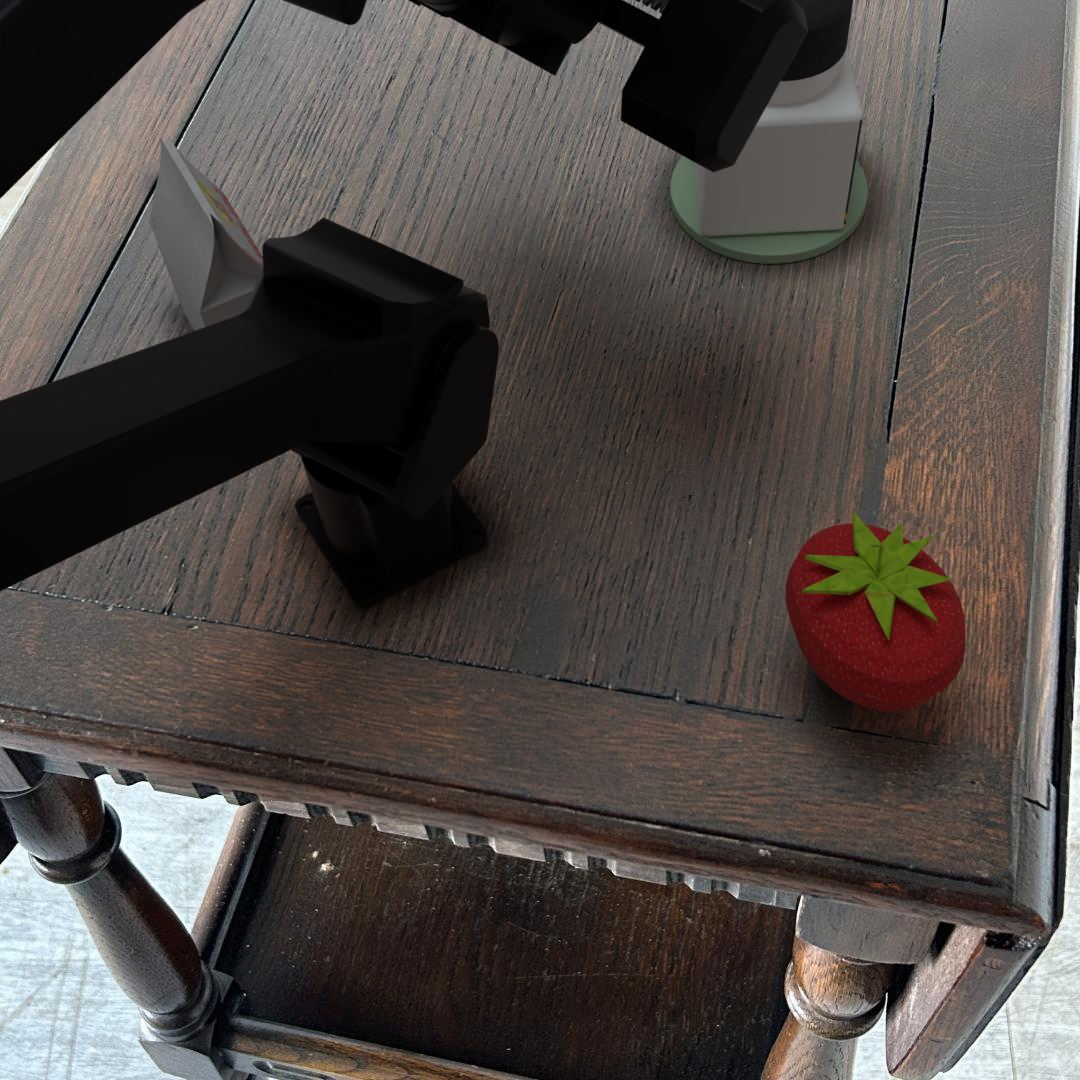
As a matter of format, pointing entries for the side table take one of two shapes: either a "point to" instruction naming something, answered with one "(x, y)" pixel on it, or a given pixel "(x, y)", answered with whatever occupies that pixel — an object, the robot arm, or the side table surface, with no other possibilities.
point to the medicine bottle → (795, 142)
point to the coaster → (767, 244)
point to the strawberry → (875, 616)
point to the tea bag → (202, 242)
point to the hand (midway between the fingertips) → (651, 48)
